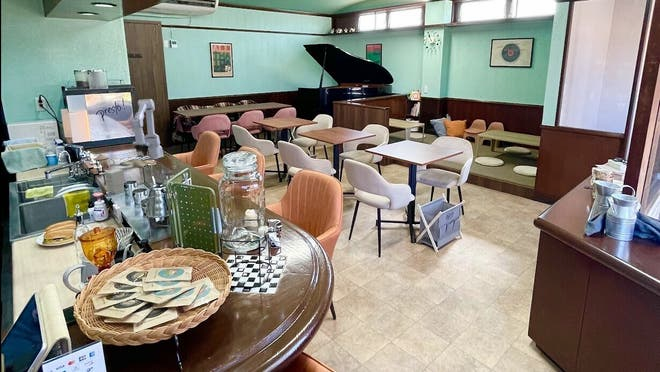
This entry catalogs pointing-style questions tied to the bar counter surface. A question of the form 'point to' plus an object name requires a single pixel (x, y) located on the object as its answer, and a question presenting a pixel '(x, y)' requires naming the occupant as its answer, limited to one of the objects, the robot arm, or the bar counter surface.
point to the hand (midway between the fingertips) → (143, 155)
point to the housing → (141, 153)
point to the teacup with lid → (104, 161)
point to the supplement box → (115, 180)
